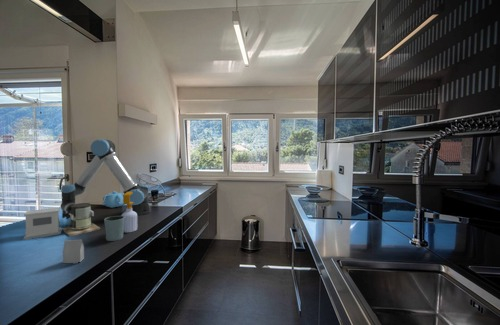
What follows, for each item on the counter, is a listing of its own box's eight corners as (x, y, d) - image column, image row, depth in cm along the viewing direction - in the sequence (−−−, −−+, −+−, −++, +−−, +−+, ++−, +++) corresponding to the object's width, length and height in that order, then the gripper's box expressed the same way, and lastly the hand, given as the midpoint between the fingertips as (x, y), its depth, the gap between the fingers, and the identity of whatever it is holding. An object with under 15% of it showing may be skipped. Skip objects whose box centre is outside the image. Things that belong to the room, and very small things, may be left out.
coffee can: (66, 229, 141) (66, 206, 140) (78, 224, 151) (77, 202, 150) (84, 229, 142) (84, 206, 141) (94, 224, 152) (94, 202, 151)
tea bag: (80, 262, 104) (80, 241, 104) (63, 264, 103) (62, 242, 102) (84, 259, 108) (83, 238, 108) (67, 260, 106) (66, 239, 106)
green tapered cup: (110, 243, 127) (109, 221, 126) (100, 239, 132) (100, 218, 131) (128, 237, 135) (127, 217, 135) (118, 233, 141) (118, 214, 140)
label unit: (61, 229, 146) (60, 207, 146) (60, 234, 138) (59, 210, 138) (26, 234, 137) (25, 210, 136) (23, 239, 129) (22, 214, 128)
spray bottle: (140, 228, 151) (139, 191, 150) (131, 233, 142) (131, 193, 141) (127, 227, 152) (126, 190, 151) (118, 232, 143) (117, 193, 142)
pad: (91, 224, 158) (91, 222, 158) (100, 229, 148) (100, 227, 147) (62, 230, 145) (62, 228, 145) (69, 236, 135) (69, 234, 135)
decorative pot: (99, 208, 198) (99, 193, 197) (110, 204, 214) (109, 189, 213) (119, 208, 199) (119, 193, 198) (128, 204, 215) (127, 189, 214)
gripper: (92, 211, 166) (103, 217, 152) (51, 218, 149) (60, 225, 135) (91, 201, 166) (103, 206, 152) (51, 206, 148) (60, 213, 134)
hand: (83, 215), depth 143 cm, fingers closed on coffee can, 10 cm apart
